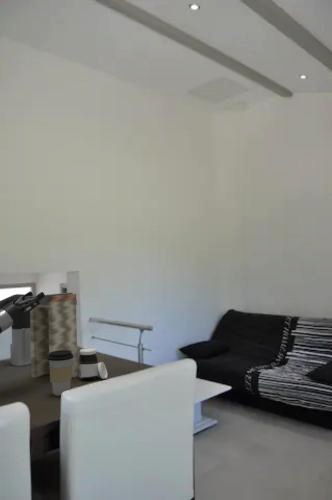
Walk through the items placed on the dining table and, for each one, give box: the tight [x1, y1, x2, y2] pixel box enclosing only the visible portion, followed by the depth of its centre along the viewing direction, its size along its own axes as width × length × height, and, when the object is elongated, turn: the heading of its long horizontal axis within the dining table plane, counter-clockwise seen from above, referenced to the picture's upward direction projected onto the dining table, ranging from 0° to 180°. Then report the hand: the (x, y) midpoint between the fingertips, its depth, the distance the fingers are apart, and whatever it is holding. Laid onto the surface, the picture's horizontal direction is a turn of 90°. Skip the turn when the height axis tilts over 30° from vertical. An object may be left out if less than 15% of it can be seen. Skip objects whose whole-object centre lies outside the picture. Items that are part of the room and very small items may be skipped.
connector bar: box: [25, 292, 74, 303], centre depth 175 cm, size 21×3×3 cm, turn 139°
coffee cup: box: [47, 350, 74, 397], centre depth 157 cm, size 9×9×15 cm
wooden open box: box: [30, 293, 79, 383], centre depth 181 cm, size 13×16×34 cm
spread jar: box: [78, 347, 108, 381], centre depth 176 cm, size 12×11×12 cm
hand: (37, 293), depth 171 cm, fingers open, 8 cm apart
